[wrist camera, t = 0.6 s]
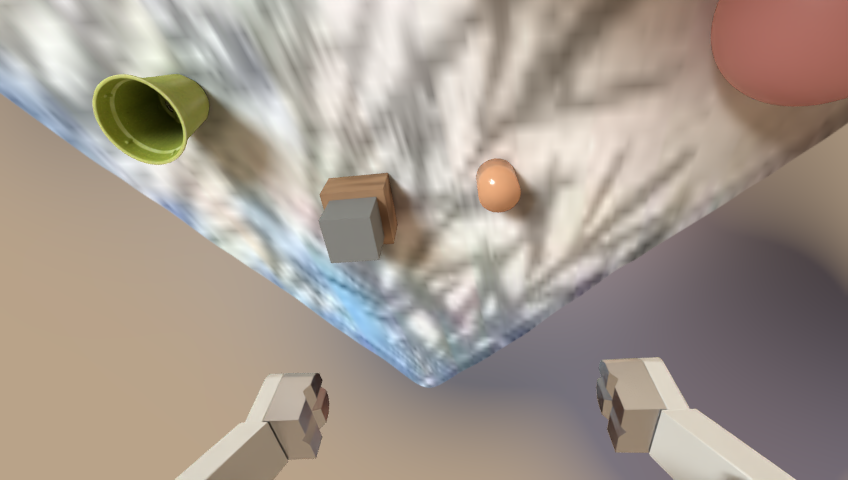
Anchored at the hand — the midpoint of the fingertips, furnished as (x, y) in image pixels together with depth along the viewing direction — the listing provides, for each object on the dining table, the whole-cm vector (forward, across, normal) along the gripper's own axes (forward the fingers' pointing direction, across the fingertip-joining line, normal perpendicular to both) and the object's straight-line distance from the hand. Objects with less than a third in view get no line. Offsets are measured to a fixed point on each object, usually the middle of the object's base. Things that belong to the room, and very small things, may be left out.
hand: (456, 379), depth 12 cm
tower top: (+37, +13, +14) cm, 42 cm away
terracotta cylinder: (+42, -5, +12) cm, 44 cm away
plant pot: (+42, +32, -2) cm, 53 cm away
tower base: (+42, +13, +14) cm, 47 cm away
